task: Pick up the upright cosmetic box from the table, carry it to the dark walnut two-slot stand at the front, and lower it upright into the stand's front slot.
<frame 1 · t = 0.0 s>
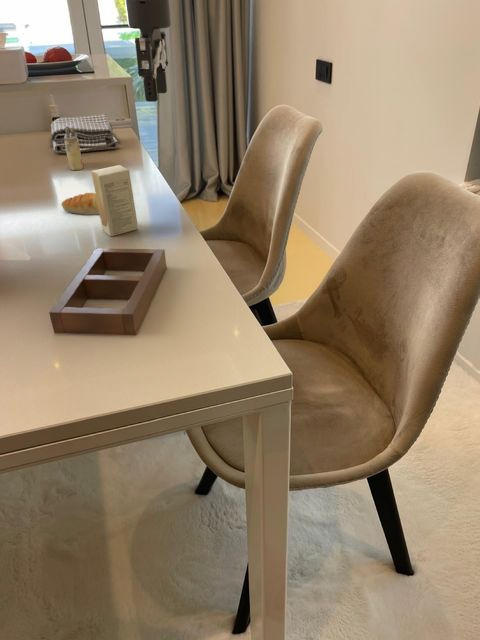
hand: (156, 96, 106), 24 cm above the table, tool pointing down, fingers open, 8 cm apart
pale yellow bottle: (75, 167, 151), on the table
stand: (117, 306, 87), on the table
cosmetic box: (120, 231, 113), on the table
towel: (85, 147, 168), on the table
pastry: (88, 211, 123), on the table
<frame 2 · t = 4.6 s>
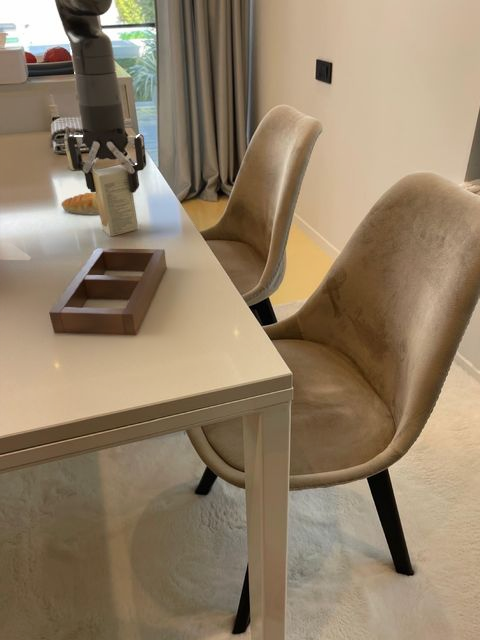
hand: (113, 191, 109), 8 cm above the table, tool pointing down, fingers closed on cosmetic box, 7 cm apart
cosmetic box: (120, 231, 113), on the table, touching gripper
everything else where it was.
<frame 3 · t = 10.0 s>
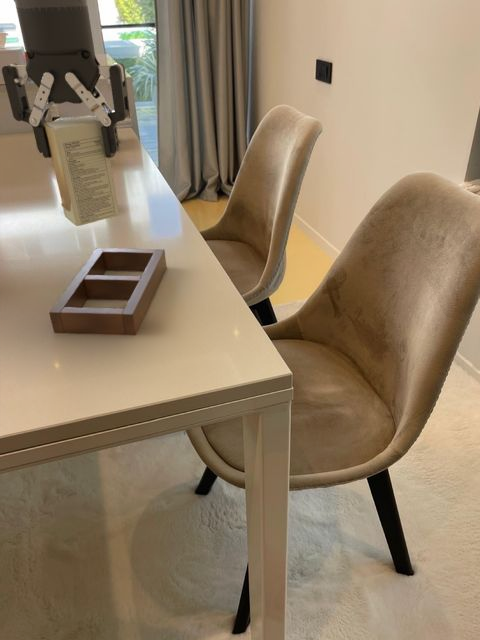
hand: (80, 156, 70), 24 cm above the table, tool pointing down, fingers closed on cosmetic box, 7 cm apart
cosmetic box: (91, 218, 75), point 16 cm above the table, touching gripper
everything else where it was.
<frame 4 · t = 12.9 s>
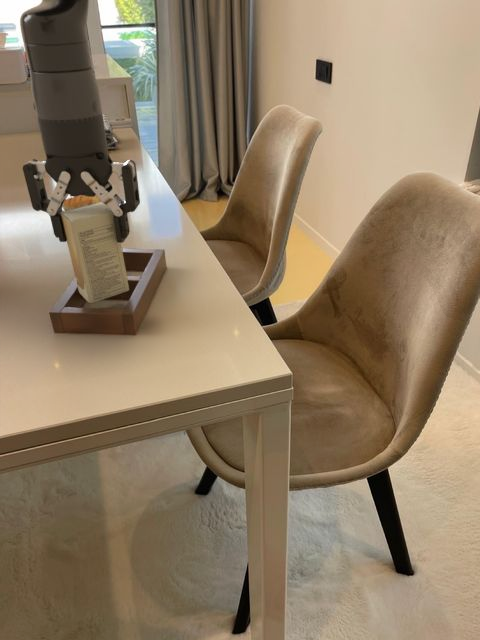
hand: (93, 239, 76), 13 cm above the table, tool pointing down, fingers closed on cosmetic box, 7 cm apart
cosmetic box: (103, 293, 80), point 5 cm above the table, touching gripper
everything else where it was.
when the fingers open (8 cm above the table, at t = 15.4 s): cosmetic box stays where it is, resting in stand.
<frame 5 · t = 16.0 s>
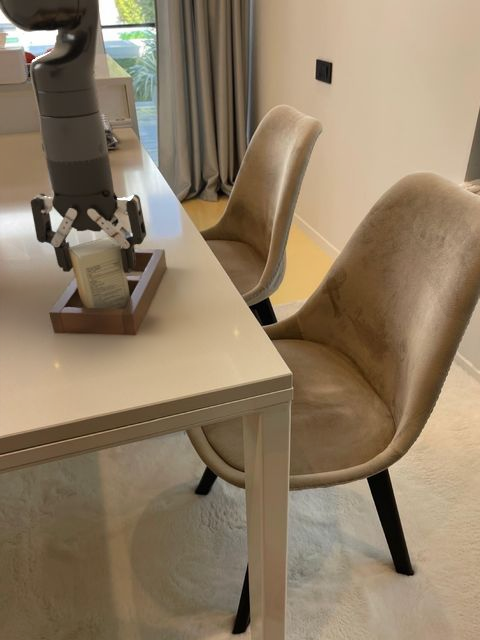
hand: (98, 270, 78), 9 cm above the table, tool pointing down, fingers open, 8 cm apart
cosmetic box: (109, 323, 83), resting in stand
everything else where it was.
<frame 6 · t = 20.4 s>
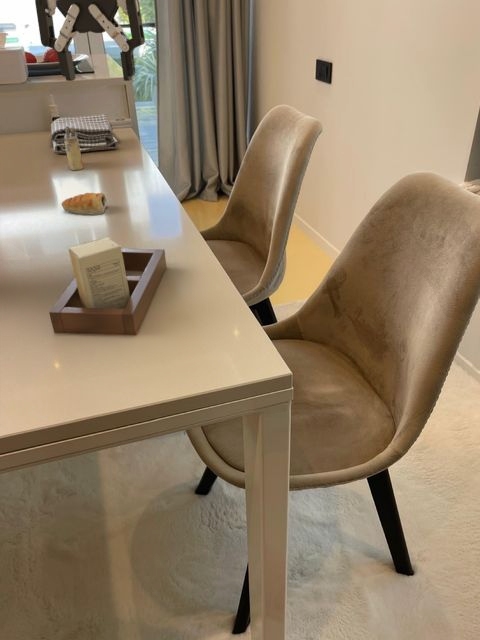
hand: (99, 80, 82), 30 cm above the table, tool pointing down, fingers open, 8 cm apart
nothing on the table moved.
at the end: cosmetic box 0.2 cm from the target spot in the stand, point 0.0 cm above the stand's base; cosmetic box tilted 0°; the gripper is holding nothing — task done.
